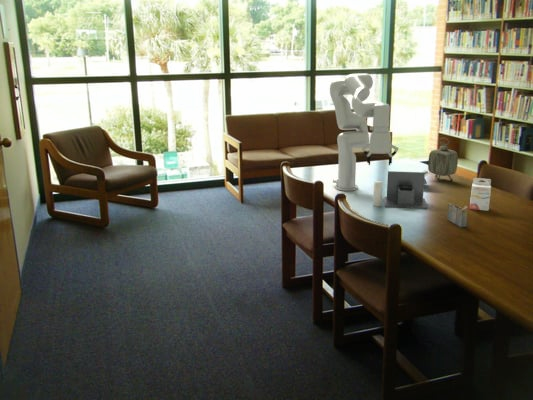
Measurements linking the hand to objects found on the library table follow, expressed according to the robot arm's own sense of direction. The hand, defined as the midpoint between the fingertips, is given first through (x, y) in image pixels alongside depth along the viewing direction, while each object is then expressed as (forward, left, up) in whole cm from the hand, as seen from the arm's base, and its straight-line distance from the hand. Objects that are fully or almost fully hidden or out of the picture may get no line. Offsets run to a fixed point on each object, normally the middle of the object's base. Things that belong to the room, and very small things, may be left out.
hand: (379, 164), depth 262 cm
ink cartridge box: (+41, +26, -21) cm, 53 cm away
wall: (-3, +46, -21) cm, 51 cm away
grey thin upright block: (+41, -1, -22) cm, 46 cm away
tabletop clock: (+3, +67, -21) cm, 70 cm away
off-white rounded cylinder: (0, 0, -21) cm, 21 cm away
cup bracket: (+9, +11, -21) cm, 25 cm away
